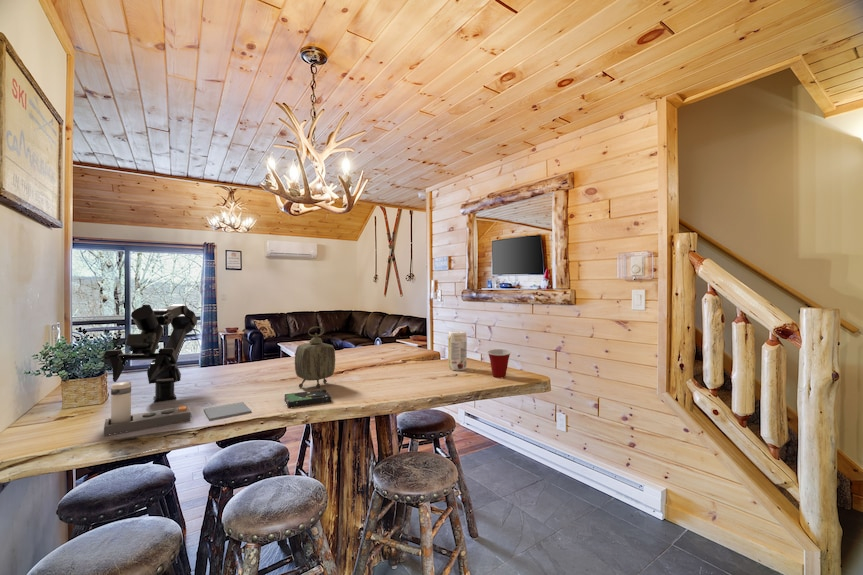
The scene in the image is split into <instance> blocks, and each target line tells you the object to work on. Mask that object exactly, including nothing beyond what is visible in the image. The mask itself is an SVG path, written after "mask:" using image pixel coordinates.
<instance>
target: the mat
mask: <svg viewBox="0 0 863 575" xmlns="http://www.w3.org/2000/svg"><path fill="white" fill-rule="evenodd" d="M203 412H204V414H205V416H206V417H207V419H208V421H214V420H219V419H226V418H231V417H235V416H241V415H246V414H251V413H253V412H252V409H251V408H250V407H249V406H248V405H247V404H245V402H244V401H241V402H240V401H239V402H235V403H228V404H223V405H217V406H216V405H215V406H211V407H207V408H203Z"/></svg>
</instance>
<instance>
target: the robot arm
mask: <svg viewBox="0 0 863 575" xmlns="http://www.w3.org/2000/svg"><path fill="white" fill-rule="evenodd" d="M130 317H131V318H132V320H133V322H134V324H135V325H136V328H137V330H140V331H141V332H140V333H128V334H127V337H126V340H125V346H127V347H129V348H128V350H129V352H131V353H124V352H123V351H122V349H109V350H106V351H104V353H103V355H102V360H104V361H105V363H106V365H107V366H108V367H109V368H112V381H113V382H114V383H117V381H118V380H119V378H120V376H121V374H122V372H123V371H124V369H125V366H124V365H126V363H127V361H151V363H150V365H149V366H148V368H147V372H146V375H147V380H148V384H149V385H150V384H155V385H154V389H155V390H154V392H155V395H154V396H153V402H155V403H156V402H162V401H167V400H168V401H169V400H175V399H177V395H176V393H175V383H177V382H181V377H182V373H181V371H180V369H179V367H178V364H177V363H178V358H179V357H178V355H179V353H180V351H181V348H182V345H183V343H184V341H185V339H186V336H187V335H188V334H189V333H191V332H192V331H194V329H195V327H196V326H197V324H198V318H197V315H196V313H195V312H194V311H193V310H191V309H189V308H188V306H187V305H186V304H183V303H182V304H181V303H180V304H175V303H174V304H171V305H169V306H167V307H164V308H161V309H159V308H158V309H154V308H152V307H151V304H142V305H141V307H140V306H139V307H138V308H136V309H134V310H132V312H131V314H130ZM170 324H171V327H172V331H171V334H170V336H169V338H168V340H167V342H166V344H165V347H162V348H160V345H159V343H160V340H161V338H162V337H164V336H165V333H164V331H165V330H164V327H163V326H169V325H170ZM157 350H158V352H157ZM123 357H124V358H123Z"/></svg>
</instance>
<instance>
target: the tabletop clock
mask: <svg viewBox="0 0 863 575" xmlns="http://www.w3.org/2000/svg"><path fill="white" fill-rule="evenodd" d="M314 329H320V330H321V331H322V333H320V334H318V333H317V332H315V333H314V334H311V333H310V331H311V330H314ZM324 333H325V330H324V328H323V327H322V326H318V325H317V326H312V327H310V328H309V329H308V331H307V335H308V336H310V337H311V339H310V340H309V342H307V343H302V344H299V345H298V346H297V347H296V349H295V353H294V371H295V374H296V377H298V378H301V379H303V380H302V382H301V383H299V384H298V388H302V387H303V385H304V383H305V382H306V381H316V388H321V384H320V380H322V383H324V384H325V383H327V381H328V380H327V378H329V377H331V376H333V375H334V373H335V369H336V368H335V367H336V352H335V347H334V345H333V344H331V343H330V344H329V343H324V342H323V340H322V338H321V337H320V336H322V335H323V334H324Z"/></svg>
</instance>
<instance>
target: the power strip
mask: <svg viewBox="0 0 863 575" xmlns="http://www.w3.org/2000/svg"><path fill="white" fill-rule="evenodd" d="M188 421H191V411H190V408H189V406H188V405H182V406H178V407H177V406H176V407H172V408H171V407H170V408H165V409H159V410H152V411H147V412H140V413H135V414H131V421H129V422H123V423H117V424H111V417H110V418H109V417H108V418H105V420H104V425H103V426H104V427H103V436H104V435H108V436H110V435H109V434H113V435H115V434H114V433H118V434H121V433H120V432H124V433H127V432H126V431H129V432H133V431H134V430H135V431H139V430H145V429H149V428H155V427H161V426H166V425H171V424H178V423H183V422H188Z"/></svg>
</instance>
